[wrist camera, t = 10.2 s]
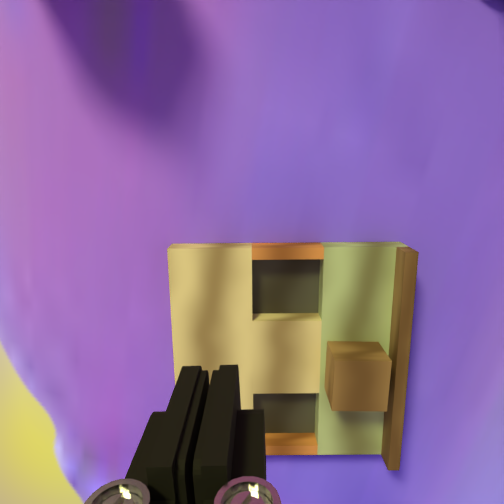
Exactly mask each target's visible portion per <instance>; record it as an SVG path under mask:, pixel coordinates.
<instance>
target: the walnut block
mask: <svg viewBox="0 0 504 504" xmlns="http://www.w3.org/2000/svg"><path fill="white" fill-rule="evenodd" d="M391 365H392V361H391V359H390V358H389V356H388V355H387V354H386V352H385V351H384V349H383V348H382V346H381V345H380V343H379V342H362V341H327V350H326V367H325V384H324V388H325V391H326V394H327V397H328V400H329V404H330V407H331V410H332V411H379V412H387V405H388V395H389V385H390V375H391Z"/></svg>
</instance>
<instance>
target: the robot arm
mask: <svg viewBox="0 0 504 504" xmlns="http://www.w3.org/2000/svg"><path fill="white" fill-rule="evenodd" d="M84 504H281V500H280V497H279V494H278V492H277V490H276V489H275V488H274V487H273V485H272V484H271V483H269V482H268V481H266V445H265V420H264V409H244V410H241V399H240V382H239V367H238V364H237V365H220V367H219V370H213V372H212V376H211V381H210V384H209V373H208V370H202V367H201V366H182V368H181V371H180V374H179V377H178V379H177V382H176V385H175V388H174V390H173V393H172V396H171V399H170V401H169V404H168V407H167V410H166V411H165V412H153V413H152V414H151V416H150V419H149V421H148V423H147V426H146V428H145V431H144V433H143V436H142V438H141V440H140V443H139V445H138V448H137V450H136V453H135V455H134V457H133V460H132V462H131V465H130V467H129V470H128V472H127V474H126V477H125V479H119V480H115V481H112V482H110V483H107V484H105V485H103V486H101V487H100V488H99V489H98V490H96V491H95V492H94V493H92V495H91V496H90V497H89V498H88V499H87V500H86V502H85V503H84Z"/></svg>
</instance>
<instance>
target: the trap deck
mask: <svg viewBox="0 0 504 504" xmlns="http://www.w3.org/2000/svg"><path fill="white" fill-rule="evenodd" d="M167 252H168V269H169V286H170V304H171V321H172V338H173V355H174V372H175V385H176V382H177V379H178V377H179V374H180V371H181V368H182V366H201V367H202V370H208V373H209V384H210V381H211V376H212V372H213V370H219V367H220V365H237V364H238V367H239V382H240V399H241V410H244V409H264V420H265V445H266V455H354V454H381V455H382V458H383V460H384V462H385V464H386V467H387V469H388V470H399V468H400V456H401V445H402V434H403V422H404V411H405V400H406V388H407V377H408V365H409V354H410V343H411V331H412V320H413V309H414V297H415V286H416V275H417V263H418V252H417V251H415V250H414V249H412V248H410V247H408V246H406V245H405V244H403V243H401V242H327V243H211V244H171V245H170V247H169V248H168V249H167ZM327 341H362V342H379V343H380V345H381V346H382V348H383V349H384V351H385V352H386V354H387V355H388V356H389V358H390V359H391V361H392V365H391V375H390V385H389V395H388V405H387V412H379V411H332V410H331V407H330V404H329V400H328V397H327V394H326V391H325V388H324V384H325V367H326V350H327Z"/></svg>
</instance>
